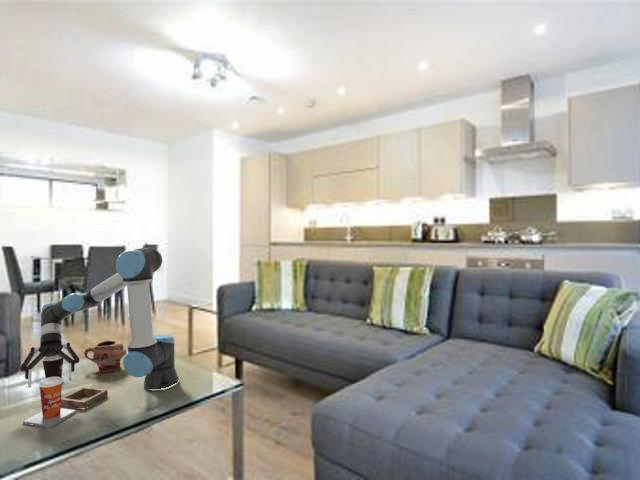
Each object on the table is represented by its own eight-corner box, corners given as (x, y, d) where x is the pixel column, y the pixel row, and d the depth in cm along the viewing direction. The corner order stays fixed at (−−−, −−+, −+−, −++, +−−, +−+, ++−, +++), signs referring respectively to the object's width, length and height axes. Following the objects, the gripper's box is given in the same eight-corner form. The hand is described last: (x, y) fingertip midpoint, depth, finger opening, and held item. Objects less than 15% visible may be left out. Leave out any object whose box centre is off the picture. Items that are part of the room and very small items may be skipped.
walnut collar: (107, 396, 171) (107, 389, 171) (84, 409, 159) (84, 402, 159) (83, 393, 174) (83, 386, 174) (59, 406, 162) (59, 399, 162)
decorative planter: (80, 376, 193) (79, 348, 192) (87, 367, 205) (86, 340, 204) (124, 372, 199) (124, 344, 198) (129, 363, 211) (128, 337, 210)
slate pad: (76, 412, 157) (76, 410, 157) (48, 428, 145) (48, 425, 145) (51, 409, 159) (51, 406, 159) (23, 423, 148) (23, 421, 148)
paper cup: (45, 422, 147) (44, 385, 146) (35, 416, 151) (34, 381, 150) (67, 413, 154) (66, 378, 153) (57, 408, 158) (57, 374, 157)
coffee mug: (53, 382, 185) (53, 361, 185) (38, 380, 187) (37, 360, 187) (73, 373, 197) (73, 353, 196) (59, 371, 199) (58, 352, 198)
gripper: (84, 336, 179) (86, 380, 167) (15, 345, 166) (12, 393, 154) (84, 327, 174) (86, 372, 163) (13, 336, 161) (10, 385, 149)
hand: (50, 382), depth 158 cm, fingers open, 13 cm apart
